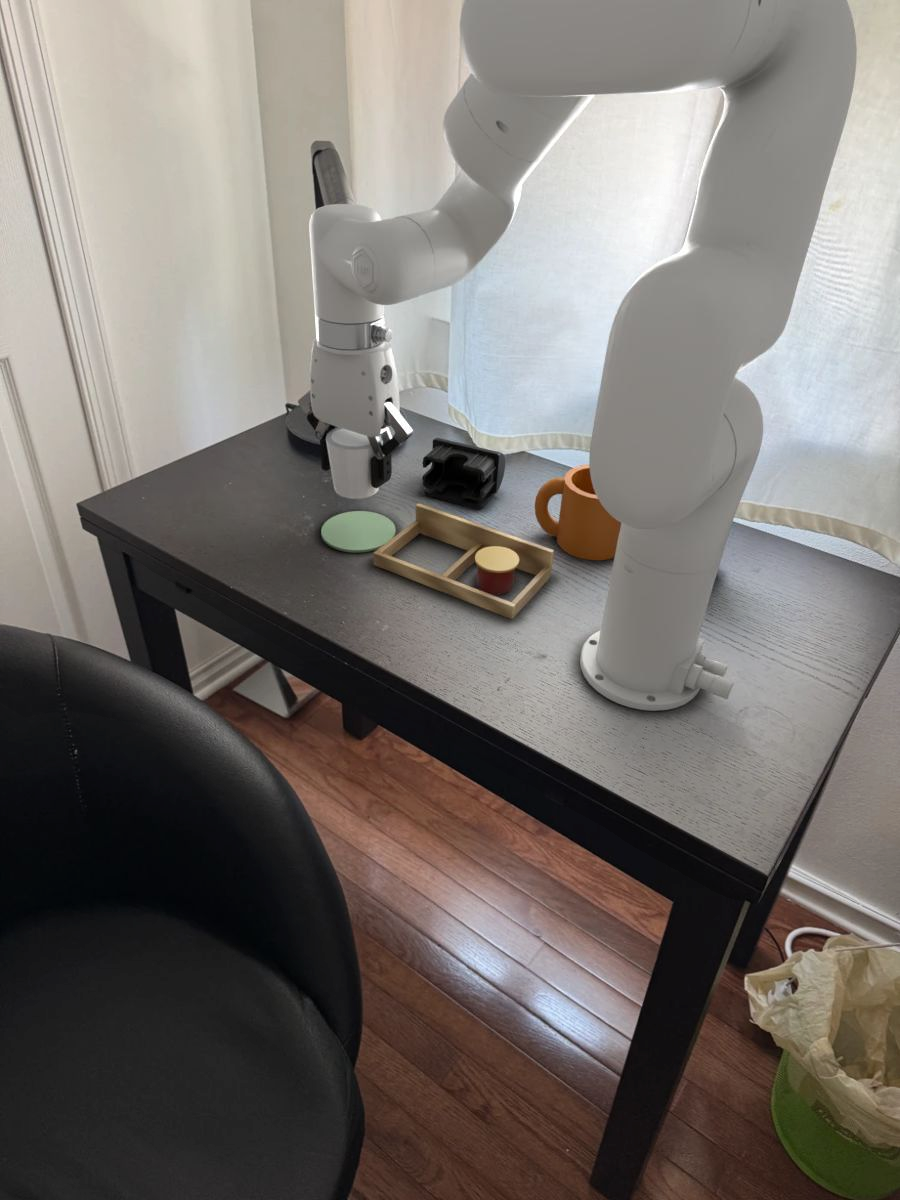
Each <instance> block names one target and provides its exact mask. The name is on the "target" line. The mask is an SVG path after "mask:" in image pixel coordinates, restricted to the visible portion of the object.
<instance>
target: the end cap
mask: <svg viewBox="0 0 900 1200" xmlns="http://www.w3.org/2000/svg"><path fill="white" fill-rule="evenodd" d="M421 464H422V468H423V469H426V468H428V467H429V465H431V466H430V467H429V469H428V470H427V471H426V472H425V473H424V474H423V475H422V477H421V479H422V486H423V487H424V489H423V494H424V496H426V497H430V498H434V499H438V500H442V501H445V502H448V503H449V502H450V503H453V504H458V505H461V506H465V507H469V508H473V509H475V510H476V509H477V510H483V509H484V508H485V507H486V506H487V504H488V503H489V502H490V501H491V500H492V498H493V497H494V495H496V494H497V493H498V491H499V489H500V487H501V485H502V483H503V479H504V476H505V471H506V457H505V454H504V453H503V452H501V451H497V450H493V449H488V448H484V447H480V446H476V445H471V444H467V443H462V442H458V441H454V440H450V439H445V438H441V437H436V438H434V439H432V449H431V450H430V451H429V452H428V453H427V454H426V455H425V456H424V457H423V458H422V463H421Z"/></svg>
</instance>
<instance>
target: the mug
mask: <svg viewBox="0 0 900 1200" xmlns="http://www.w3.org/2000/svg"><path fill="white" fill-rule="evenodd" d="M556 495H561V501H560V509H559V516H558V521H557V520H556V519H554V518H553V517H552V516H551V514H550V511H549V503H550V501H551V499H552V498H553V497H554V496H556ZM534 514H535V517H536V520H537V522H538V525H539V526H540V528H541V529H542V530H543V531H544V532H545V533H546V534H548V535H550V536H551V537H553V538H556V542H557V544H558V546H559V547H560V548H561V550H563V551H564V552H566V553H567V554H568V555H571V556H573V557H575V558H578V559H582V560H586V561H606V560H611V559H614V558H615V552H616V547H617V542H618V537H619V533H620V528H621V522H619V521H618V520H616V519H615V518H613V517H612V516H611V515H610V514H609V513H608V512H607V511H606V510H605V508H604V507H603V506H602V504H601V503H600V501H599V499H598V497H597V495H596V493H595V491H594V488H593V485H592V481H591V476H590V467H589V464H583V465H578V466H575V467H573V468H570V470H568V471H567V472H565V475H564V477H555V478H552V479H548V481H546V482H545V483H543V485H542V486H541V487H540V488H539V490H538V492H537V494H536V496H535V500H534Z"/></svg>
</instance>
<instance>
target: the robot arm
mask: <svg viewBox="0 0 900 1200" xmlns="http://www.w3.org/2000/svg"><path fill="white" fill-rule="evenodd" d="M854 22H855V21H854V18H853V15H852V11H851V8H850V5H849V2H848V0H463V4H462V7H461V11H460V19H459V41H460V46H461V53H462V56H463V60H464V62H465V64H466V66H467V68H468V70H469V72H470V74H469V76H468V77H467V78H466V80H464V83H463V84H462V86H461V88H460V89H459V91H458V92H457V94H456V95H455V96H454V98H453V99H452V101H451V102H450V104H449V105H448V107H447V108H446V110H445V113H444V116H443V120H442V121H443V122H442V132H443V133H442V134H443V138H444V142H445V145H446V147H447V149H448V151H449V153H450V154H451V156H452V158H453V160H454V161H455V163H456V164H457V165H458V166H459V167H460V171H459V172H458V174H457V176H456V177H455V178H454V179H453V181H452V183H451V185H450V186H449V187H448V188H447V190H446V191H445V193H444V194H443V195H442V196H441V198H440V199H439V200H438V201H437V202H436V204H435V205H433V207H432V208H431V209H428V210H422V211H417V212H412V213H407V214H403V215H399V216H395V217H392V218H385V219H382V218H381V215H380V214H379V213H378V212H377V211H376V210H375V209H373V208H371V207H368V206H365V205H361V204H352V203H335V204H327V205H323V206H321V207H317V208H316V209H314V211H313V212H312V214H311V215H310V219H309V223H308V224H309V226H308V228H309V243H310V245H309V246H310V260H311V275H312V276H311V278H312V292H313V305H314V306H313V307H314V319H315V322H314V323H315V334H316V335H315V336H316V337H315V338H313V341H312V347H311V355H310V367H309V382H310V383H309V388H310V389H309V390H308V391H307V392H306V393H304V394H303V395H302V396H301V397H299V399H298V400H297V404H298V406H299V407H300V409H301V410H302V411H303V413H304V414H305V416H306V420H307V422H308V423H309V424H310V426H311V428H312V429H313V430H314V432H313V433H314V434H313V435H314V437H315V438H316V439H317V440H319V449H320V450H319V451H320V462H321V463H320V464H321V465H320V466H321V470H322V471H326V472H327V471H329V470H331V468H330V462H329V455H328V449H327V443H326V436H327V433H329V432H330V431H331V430H333V429H336V428H338V427H339V428H342V429H346V430H349V431H352V432H355V433H358V434H362V435H365V436H367V438H368V440H369V443H370V445H371V447H372V450H373V452H374V455H375V456H373V457H372V458H371V485H372V487H374V488H378V487H379V488H380V487H381V486H383V485H384V484H386V483H387V482H389V481H390V480H391V477H392V473H393V472H392V470H393V469H392V453H394V452H395V451H396V450H397V449H398V448H400V447H401V446H403V444H404V443H406V441H407V440H408V439H410V437H411V436H412V435H413V434H414V430H413V428H412V426H410V424H409V423H408V422H407V421H406V419H405V418H404V416H403V415H402V414H401V411H400V407H401V405H400V391H399V390H400V389H399V381H398V372H397V366H396V360H395V357H394V351H393V349H392V346H391V344H389V342H391V340H392V338H393V331H392V329H390V328H387V327H386V319H385V318H386V317H385V306H392V305H397V304H400V303H403V302H407V301H410V300H413V299H416V298H418V297H420V296H422V295H427V294H430V293H433V292H436V291H438V290H442V289H445V288H449V287H451V286H454V285H455V284H457V283H459V282H461V281H462V280H464V279H465V278H466V277H468V275H470V274H471V273H472V272H473V271H474V270H475V269H476V268H477V267H478V266H479V264H480V263H481V262H482V261H483V260H484V259H485V257H486V256H487V255H488V254H489V253H490V252H491V250H492V249H493V248H494V247H495V246H496V245H497V244H498V242H499V241H500V240H501V239H502V237H503V236H504V235H505V233H506V232H507V231H508V229H509V227H510V225H511V224H512V221H513V219H514V216H515V213H516V211H517V207H518V205H519V202H520V199H521V193H522V186H523V184H524V182H525V181H526V179H527V178H528V177H529V175H530V174H531V173H532V172H533V170H534V169H536V167H537V166H538V164H539V163H540V162H541V161H542V160H543V158H544V157H545V156H546V154H547V153H548V152H549V151H550V150H551V148H552V147H553V146H554V144H555V143H556V142H557V141H558V140H559V138H560V137H561V136H562V135H563V133H564V132H565V131H566V130H567V129H568V128H569V126H570V125H571V124H572V123H573V121H574V120H575V119H576V118H577V117H578V116H579V115H580V114H581V112H582V111H583V110H584V109H585V107H586V106H587V105H588V104H589V103H590V101H591V100H592V99H593V98H594V97H595V96H604V95H605V96H606V95H607V96H608V95H634V94H636V95H639V94H641V95H642V94H667V93H678V92H684V91H694V90H705V89H712V88H717V89H719V90H720V91H721V92H722V94H723V98H724V100H723V101H724V103H723V109H722V113H721V116H720V118H719V119H720V120H719V123H718V124H717V127H716V130H715V131H714V134H713V136H712V139H711V141H710V143H709V146H708V149H707V152H706V154H705V157H704V160H703V162H702V167H701V170H700V175H699V178H698V184H697V191H696V197H695V201H694V205H693V208H692V209H693V210H692V214H691V218H690V221H689V226H688V229H687V233H686V235H685V240H684V243H683V246H682V247H681V249H680V251H679V252H678V253H675V254H673V255H670V256H669V257H666V258H664V259H662V260H660V261H658V262H657V263H655V264H654V265H652V266H651V267H648V269H647V270H645V271H644V272H643V273H642V274H640V276H638V278H637V279H635V281H634V282H633V283H632V285H631V286H630V287H629V289H628V290H627V291H626V293H625V295H624V296H623V298H622V300H621V302H620V304H619V306H618V309H617V310H616V313H615V315H614V318H613V321H612V324H611V327H610V332H609V334H608V335H609V336H608V340H607V344H606V345H607V346H606V350H605V355H604V362H603V369H602V372H601V373H602V374H601V380H600V384H599V391H598V396H597V402H596V407H595V414H594V420H593V426H592V432H591V438H590V445H589V461H588V463H589V467H590V476H591V481H592V485H593V488H594V491H595V493H596V495H597V497H598V499H599V501H600V503H601V504H602V506H603V507H604V508H605V510H606V511H607V512H608V513H609V514H610V515H611V516H612V517H613V518H615V519H616V520H618V521H619V522H621V528H620V533H619V537H618V542H617V547H616V552H615V557H613V563H612V569H611V572H610V573H611V574H610V579H609V584H608V590H607V594H606V595H607V596H606V601H605V605H604V610H603V614H602V615H603V616H602V621H601V625H600V626H601V627H600V629H599V630H598V631H596V632H594V633H592V634H591V635H590V636H589V637H588V638H587V639H586V640H585V642H584V643H583V645H582V648H581V652H580V657H579V664H580V670H581V672H582V674H583V677H584V678H585V680H586V681H587V683H588V684H589V685H590V686H591V687H592V688H593V689H594V690H595V691H596V692H597V693H599V694H600V695H602V696H603V697H604V698H607V699H608V700H609V701H612V702H614V703H616V704H619V705H621V706H624V707H627V708H630V709H636V710H640V711H651V712H657V711H668V710H672V709H676V708H679V707H681V706H684V705H686V704H688V703H689V702H691V701H692V700H693V699H694V698H695V697H696V696H697V695H698V693H699V691H700V690H704V691H707V692H709V694H712V695H714V696H716V697H719V698H722V699H724V700H728V699H729V697H730V695H731V692H732V691H733V686H734V683H735V680H732V679H730V678H727V677H725V675H726V673H727V670H728V668H729V665H728V664H726V663H723V662H722V661H719V660H713V659H711V658H709V657H707V654H705V653H703V652H702V650H703V647H704V644H705V639H704V638H702V637H700V633H701V631H702V626H703V622H704V619H705V616H706V612H707V609H708V605H709V601H710V599H711V595H712V593H713V592H712V591H713V588H714V586H715V585H714V584H715V582H716V578H717V575H718V573H717V571H719V569H718V567H719V568H720V565H721V562H722V559H723V555H724V551H725V549H726V545H727V541H728V538H729V535H730V531H731V528H732V525H733V522H734V519H735V516H736V514H737V511H738V508H739V505H740V503H741V500H742V498H743V496H744V493H745V490H746V488H747V486H748V483H749V481H750V478H751V476H752V473H753V472H754V468H755V466H756V463H757V461H758V457H759V454H760V451H761V447H762V442H763V437H764V417H763V411H762V408H761V405H760V402H759V400H758V398H757V397H756V396H757V395H756V394H755V393H754V392H753V390H752V388H750V387H749V385H747V384H746V383H745V382H744V381H742V379H740V378H738V377H736V376H737V374H739V373H740V372H741V371H742V370H744V369H746V368H747V367H748V366H750V365H751V364H753V363H754V362H756V361H757V360H758V359H760V358H761V357H762V356H763V355H765V354H766V353H767V352H768V351H769V350H770V349H772V347H773V346H774V345H775V344H776V343H777V341H778V339H779V338H780V337H781V336H782V334H783V333H784V331H785V329H786V326H787V323H788V320H789V318H790V314H791V311H792V308H793V305H794V300H795V296H796V292H797V289H798V284H799V282H800V279H801V274H802V272H803V268H804V265H805V261H806V258H807V254H808V251H809V248H810V245H811V242H812V238H813V236H814V232H815V230H816V229H815V228H816V225H817V223H818V219H819V215H820V211H821V206H822V204H823V203H822V202H823V200H824V199H823V198H824V195H825V191H826V188H827V184H828V181H829V178H830V174H831V171H832V168H833V166H834V165H833V164H834V161H835V158H836V155H837V151H838V148H839V144H840V142H841V138H842V136H843V135H842V134H843V131H844V128H845V124H846V121H847V117H848V114H849V113H848V112H849V109H850V105H851V100H852V96H853V92H854V86H855V80H856V72H857V71H856V70H857V51H858V49H857V35H856V29H855V23H854ZM389 427H391V428H392V429H393V431H394V434H393V436H392V433H391V430H390V428H389ZM379 435H380V436H381V438H382V441H383V444H381V442H380V439H379V437H378V436H379ZM720 561H721V562H720ZM719 564H720V565H719ZM716 574H717V575H716Z"/></svg>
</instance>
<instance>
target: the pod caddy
mask: <svg viewBox="0 0 900 1200" xmlns="http://www.w3.org/2000/svg"><path fill="white" fill-rule="evenodd" d="M420 534H421V535H424V536H426V537H429V538H432V539H434V540H437V541H440V542H443V543H445V544H448V545H451V546H454V547H456V548H459V549H462V550H465V551H466V552H465V553H464V554H463V555H462V556H461V557H460V558H458V559H457V560H456V561H455V562H454V563H453V564H452V565H450V567H448V568H447V569H446V570H445V571H444V572H443V573H442V574H438V573H436V572H434V571H431V570H428V569H425V568H423V567H421V566H418V565H415V564H414V563H413V564H412V563H411V562H407V561H405V560H402V559H400V558H397V557H394V556H393V555H394V554H396V553H397V552H399V550H400V549H402V548H404V547H405V546H406V545H407V544H408V543H409V542H411V541H412V540H413V539H415V538H416V537H418V535H420ZM490 546H500V547H505V548H508V549H511V550H512V551H514V552H515V553H516V554H517V555H518V557H519V564H518V566H517V567H516V568H515V569H517V570H520V571H523V572H526V573H528V574H531V575H534V577H533V578H532V579H531V580H530V581H529V582H528V584H527V585H526V586H524V588H523V589H521V591H520V592H519V593H518V594H517V595H516V596H515V597H514V598H513V599H512V601H509V600H506V599H504V598H502V597H498V596H497V595H494V594H489V593H486V592H484V591H482V590H481V589H479V588H475V587H473V586H469V585H467V584H464V583H462V582H460V581H457V579H458V578H460V577H461V576H462V575H463V574H464V573H465V572H466V571H467V570H468V569H469V568H470V567H471V566H472V565H473V564H475V563H476V562H475V555H476V553H477V552H478V551H479V550H481V549H483V548H485V547H490ZM372 555H373V557H372V558H373V559H372V560H373V566H375V567H378V568H381V569H382V570H386V571H388V572H390V573H393V574H396V575H398V576H401V577H403V578H405V579H408V580H411V581H413V582H416V583H418V584H421V585H423V586H425V587H429V588H431V589H434V590H436V591H439V592H441V593H444V594H446V595H449V596H452V597H454V598H456V599H459V600H462V601H464V602H467V603H469V604H472V605H474V606H476V607H479V608H482V609H484V610H487V611H490V612H492V613H494V614H497V615H500V616H502V617H505V618H507V619H510V620H513V619H514V618H515V617H516V616H517V615H518V614H519V613H520V612H521V611H522V610H523V608H524V607H525V606H526V605H527V604H528V603H530V601H531V599H533V598H534V596H535V595H536V594H537V593H538V592H539V591H540V590H541V589H542V588H543V586H544V585H545V584H546V583H547V582H549V580H550V579H551V576H552V571H553V570H552V569H553V563H554V555H555V549H553V548H549V547H546V546H543V545H540V544H538V543H535V542H532V541H529V540H526V539H523V538H521V537H518V536H515V535H511V534H509V533H506V532H504V531H500V530H497V529H494V528H492V527H488V526H485V525H482V524H480V523H477V522H474V521H471V520H468V519H466V518H462V517H459V516H457V515H454V514H451V513H448V512H445V511H443V510H442V511H441V510H439V509H437V508H434V507H431V506H428V505H425V504H421V503H417V504H415V520H414V521H413V522H412V523H410V524H409V525H408V526H407V527H405V528H404V529H402V530H401V531H400V532H398V533H397V534H395V537H393V538H392V539H391V540H390V541H388V542H387V543H386V544H384V545H383V546H382V547H380V548H379V549H377V550H374V551H373V552H372Z"/></svg>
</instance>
